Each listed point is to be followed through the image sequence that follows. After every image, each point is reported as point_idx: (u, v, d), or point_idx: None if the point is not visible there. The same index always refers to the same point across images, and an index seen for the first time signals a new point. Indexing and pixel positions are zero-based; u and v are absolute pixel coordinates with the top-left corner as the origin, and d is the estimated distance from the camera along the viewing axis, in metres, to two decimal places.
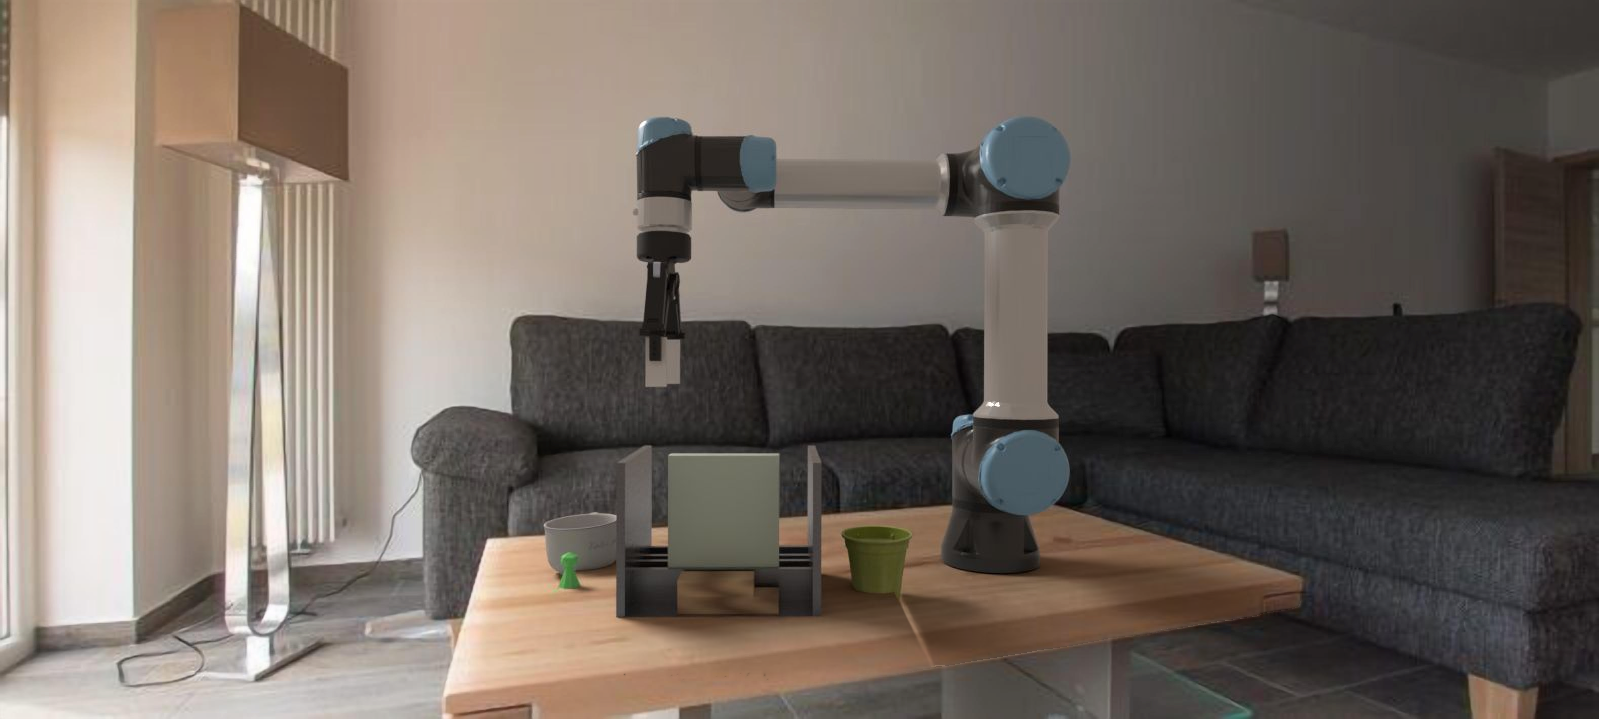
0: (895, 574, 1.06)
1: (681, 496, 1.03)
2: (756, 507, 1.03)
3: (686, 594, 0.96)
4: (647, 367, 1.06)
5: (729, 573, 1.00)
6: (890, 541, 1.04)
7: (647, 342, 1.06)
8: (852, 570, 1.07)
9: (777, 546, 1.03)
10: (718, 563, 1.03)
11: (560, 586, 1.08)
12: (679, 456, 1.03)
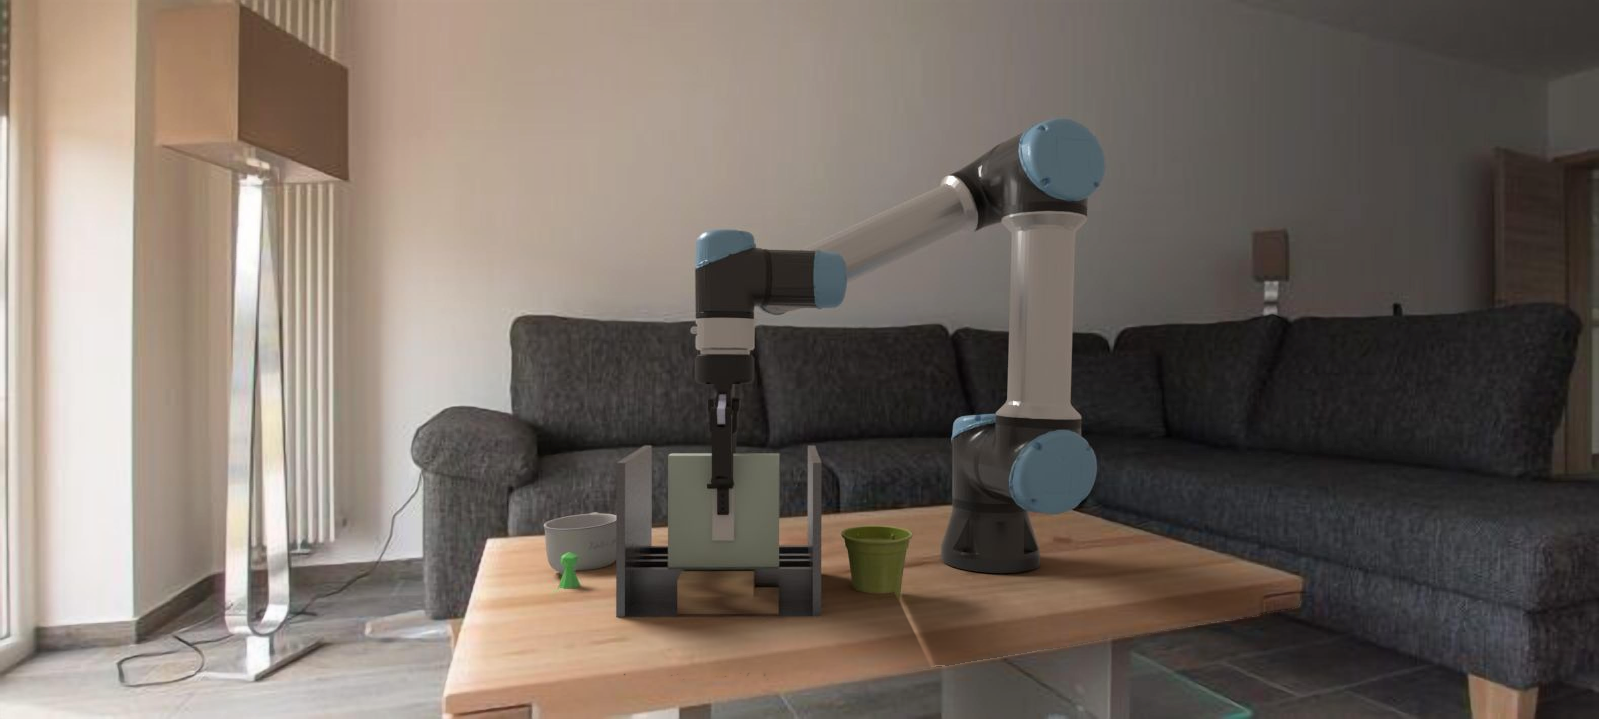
0: (895, 574, 1.06)
1: (681, 496, 1.03)
2: (756, 507, 1.03)
3: (686, 594, 0.96)
4: (714, 520, 1.02)
5: (729, 573, 1.00)
6: (890, 541, 1.04)
7: (714, 494, 1.02)
8: (852, 570, 1.07)
9: (777, 546, 1.03)
10: (718, 563, 1.03)
11: (560, 586, 1.08)
12: (679, 456, 1.03)
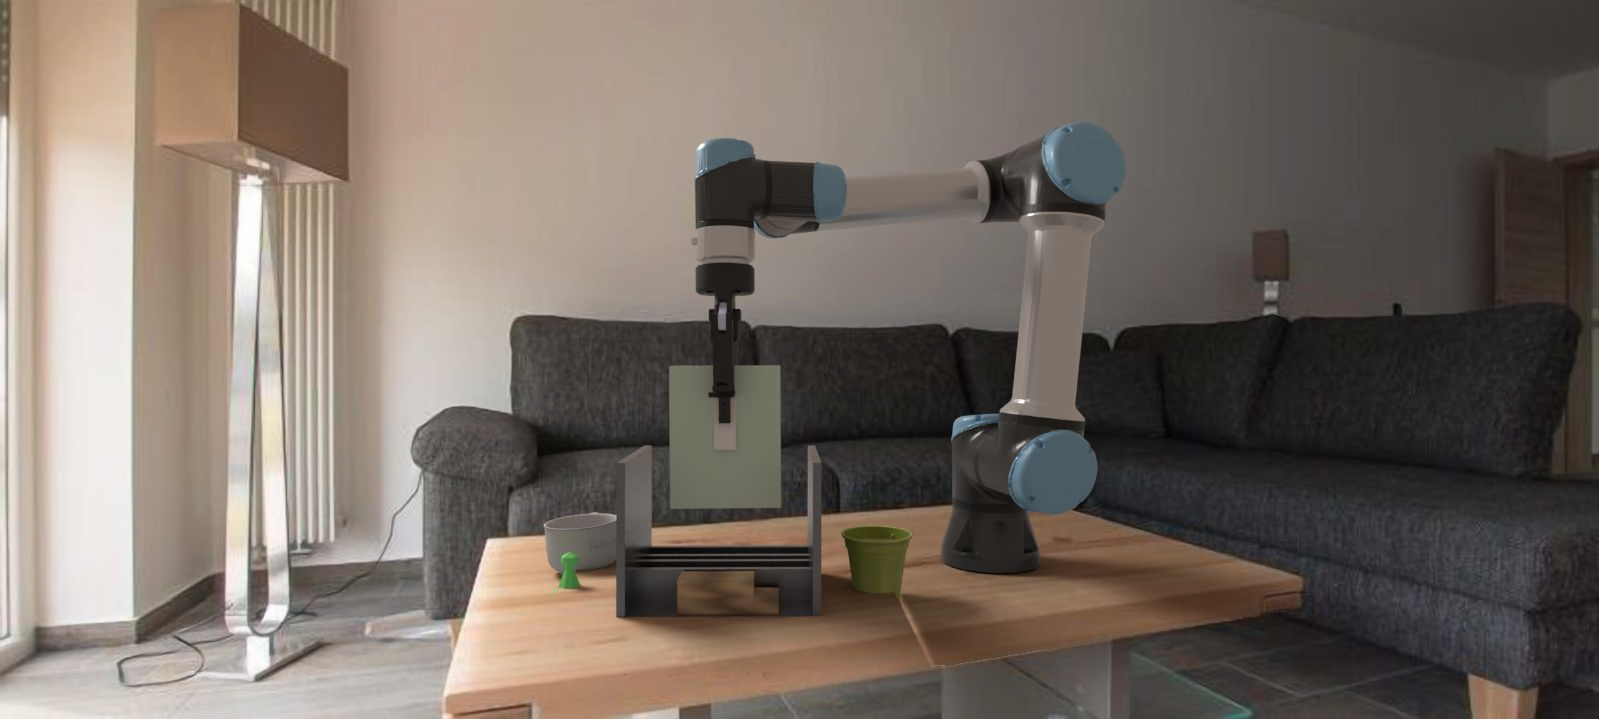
0: (895, 574, 1.06)
1: (683, 407, 1.03)
2: (757, 417, 1.03)
3: (686, 594, 0.96)
4: (716, 429, 1.02)
5: (729, 573, 1.00)
6: (890, 541, 1.04)
7: (715, 403, 1.02)
8: (852, 570, 1.07)
9: (779, 456, 1.03)
10: (720, 473, 1.03)
11: (560, 586, 1.08)
12: (680, 366, 1.03)
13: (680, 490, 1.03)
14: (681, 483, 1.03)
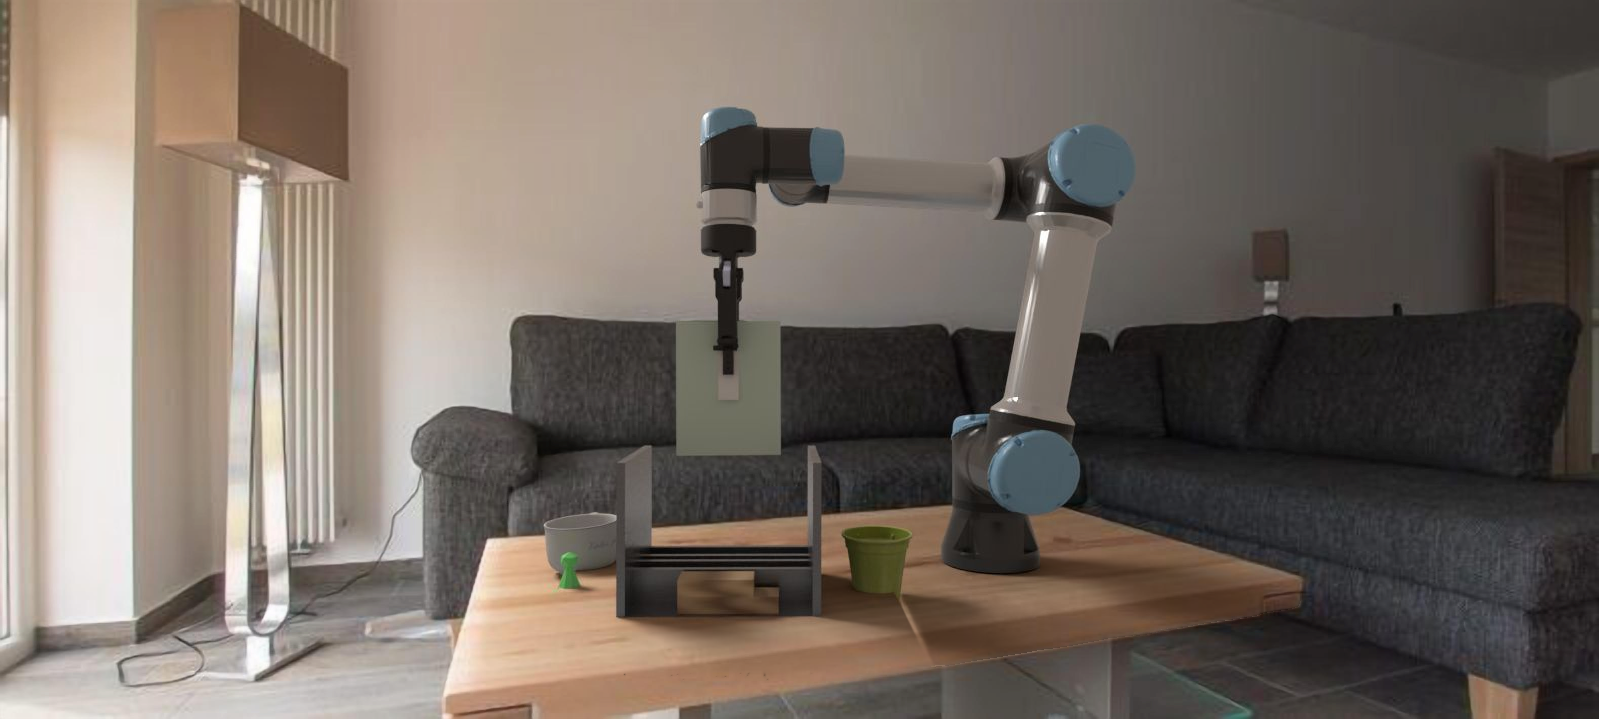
0: (895, 574, 1.06)
1: (689, 360, 1.09)
2: (758, 370, 1.10)
3: (686, 594, 0.96)
4: (720, 381, 1.09)
5: (729, 573, 1.00)
6: (890, 541, 1.04)
7: (720, 356, 1.09)
8: (852, 570, 1.07)
9: (779, 406, 1.10)
10: (724, 422, 1.09)
11: (560, 586, 1.08)
12: (686, 322, 1.09)
13: (686, 438, 1.09)
14: (686, 431, 1.09)
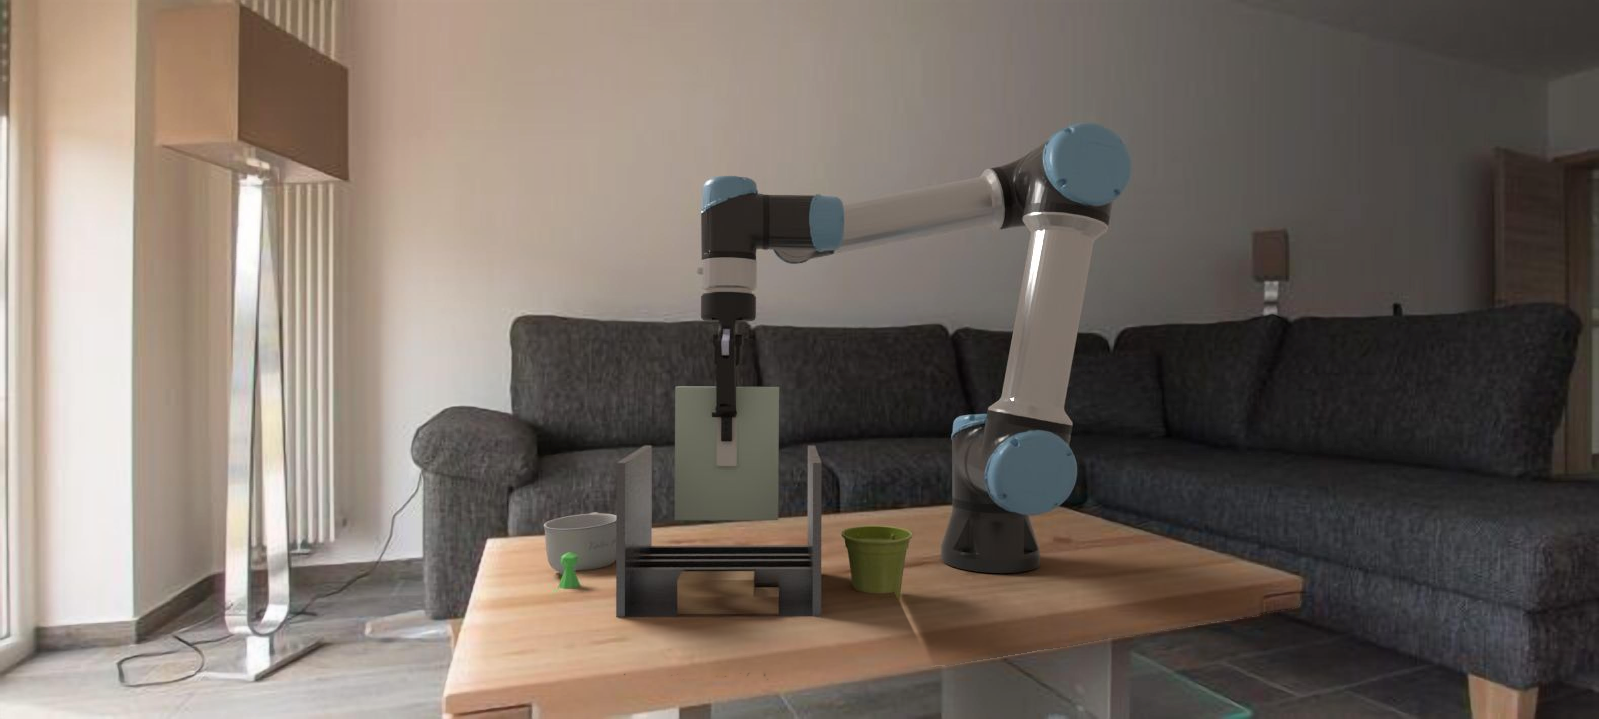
0: (895, 574, 1.06)
1: (688, 425, 1.10)
2: (757, 435, 1.10)
3: (686, 594, 0.96)
4: (718, 447, 1.10)
5: (729, 573, 1.00)
6: (890, 541, 1.04)
7: (718, 422, 1.10)
8: (852, 570, 1.07)
9: (777, 472, 1.10)
10: (722, 487, 1.10)
11: (560, 586, 1.08)
12: (685, 387, 1.10)
13: (684, 502, 1.10)
14: (685, 496, 1.10)
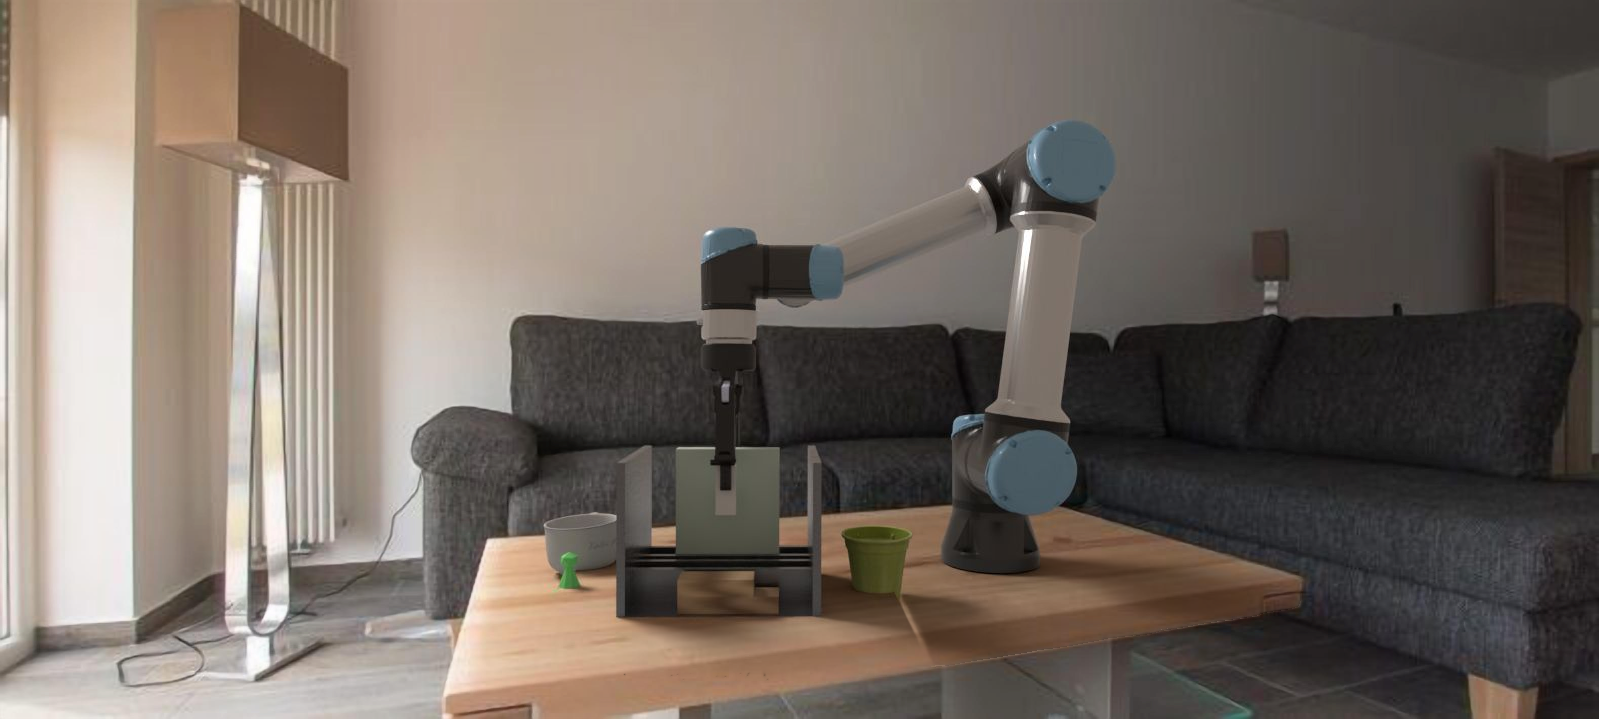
0: (895, 574, 1.06)
1: (688, 487, 1.10)
2: (757, 497, 1.10)
3: (686, 594, 0.96)
4: (717, 495, 1.07)
5: (729, 573, 1.00)
6: (890, 541, 1.04)
7: (717, 470, 1.07)
8: (852, 570, 1.07)
9: (777, 533, 1.10)
10: (723, 549, 1.10)
11: (560, 586, 1.08)
12: (686, 449, 1.10)
13: None
14: None
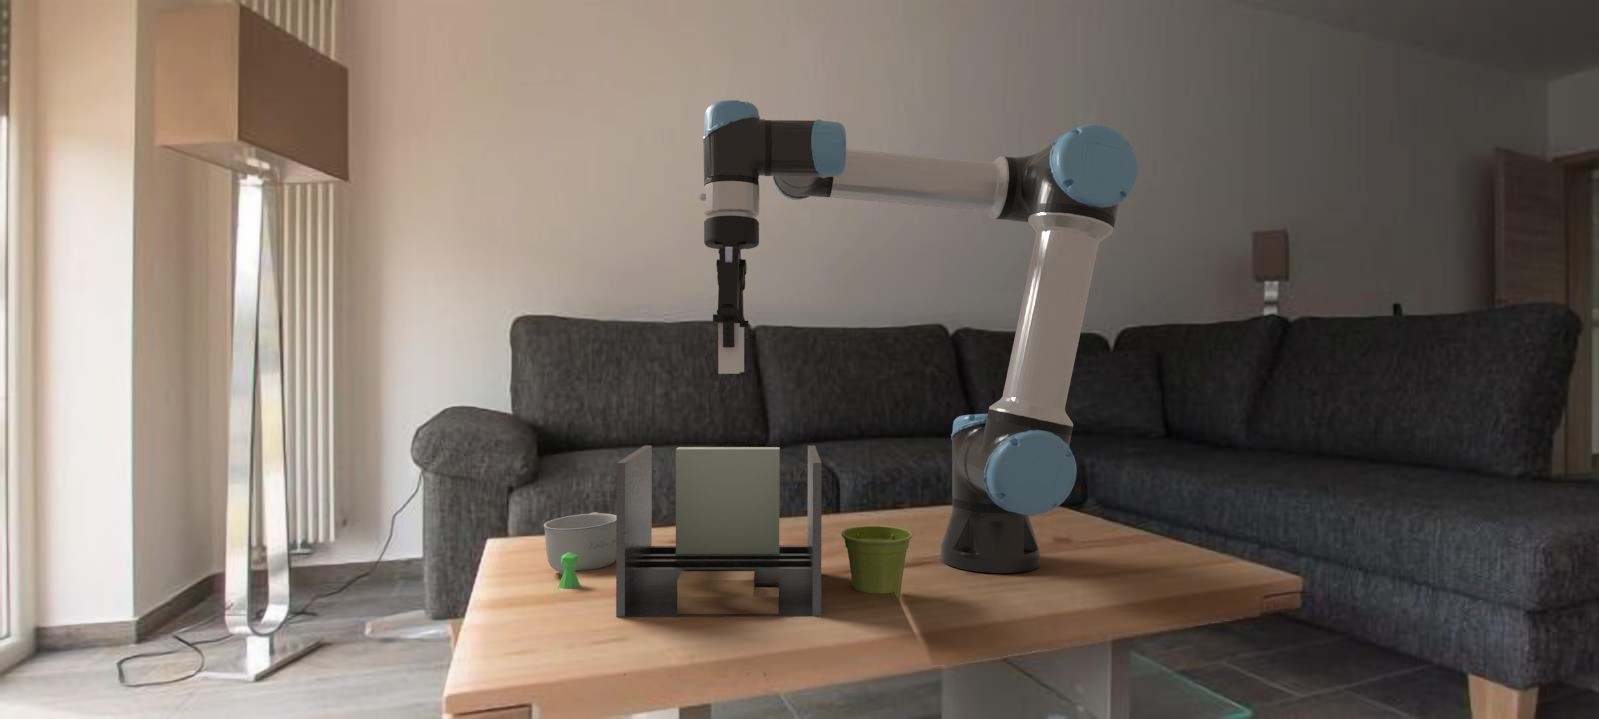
0: (895, 574, 1.06)
1: (688, 487, 1.10)
2: (757, 497, 1.10)
3: (686, 594, 0.96)
4: (720, 354, 1.05)
5: (729, 573, 1.00)
6: (890, 541, 1.04)
7: (720, 328, 1.05)
8: (852, 570, 1.07)
9: (777, 533, 1.10)
10: (723, 549, 1.10)
11: (560, 586, 1.08)
12: (686, 449, 1.10)
13: None
14: None
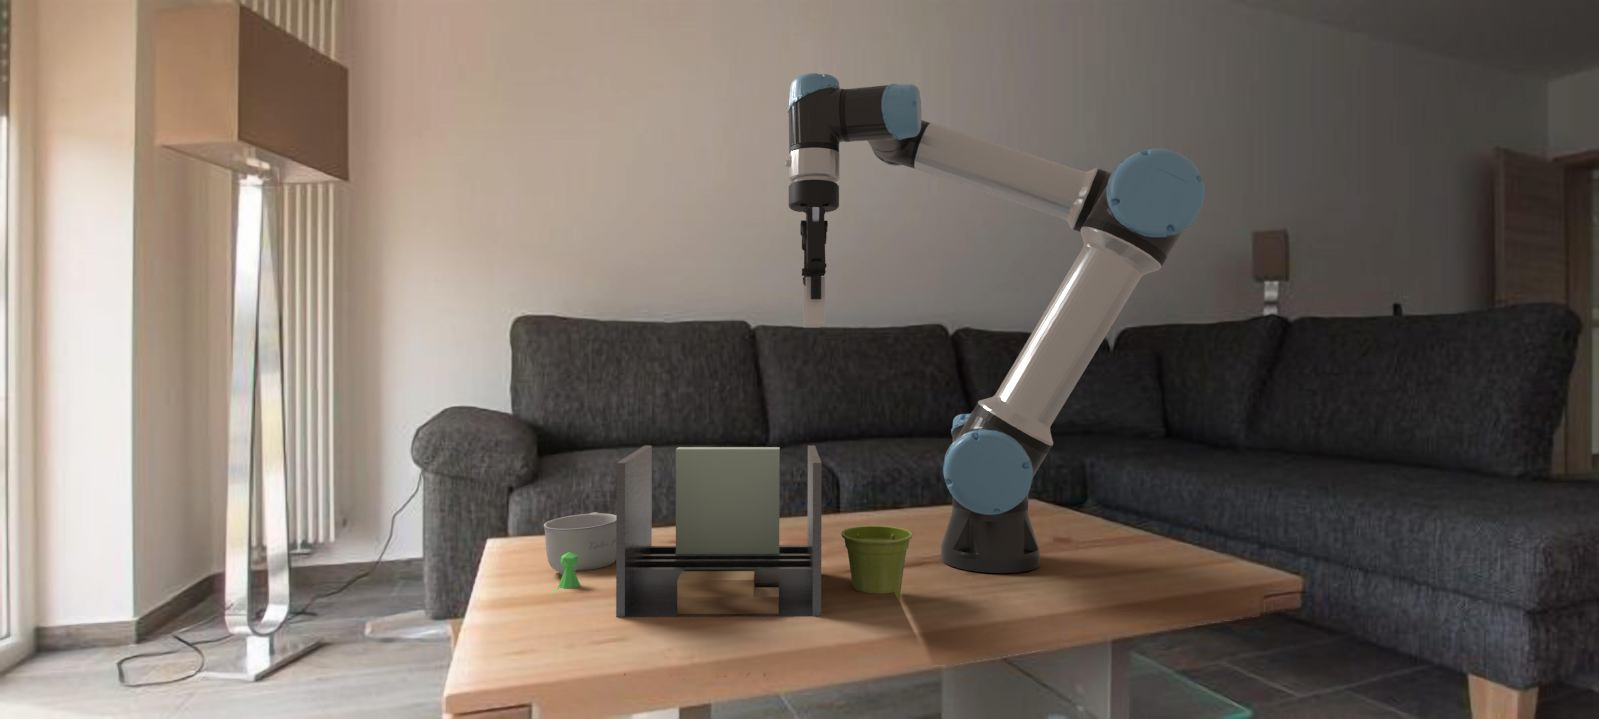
0: (895, 574, 1.06)
1: (688, 487, 1.10)
2: (757, 497, 1.10)
3: (686, 594, 0.96)
4: (807, 305, 1.14)
5: (729, 573, 1.00)
6: (890, 541, 1.04)
7: (807, 281, 1.14)
8: (852, 570, 1.07)
9: (777, 533, 1.10)
10: (723, 549, 1.10)
11: (560, 586, 1.08)
12: (686, 449, 1.10)
13: None
14: None
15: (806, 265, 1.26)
